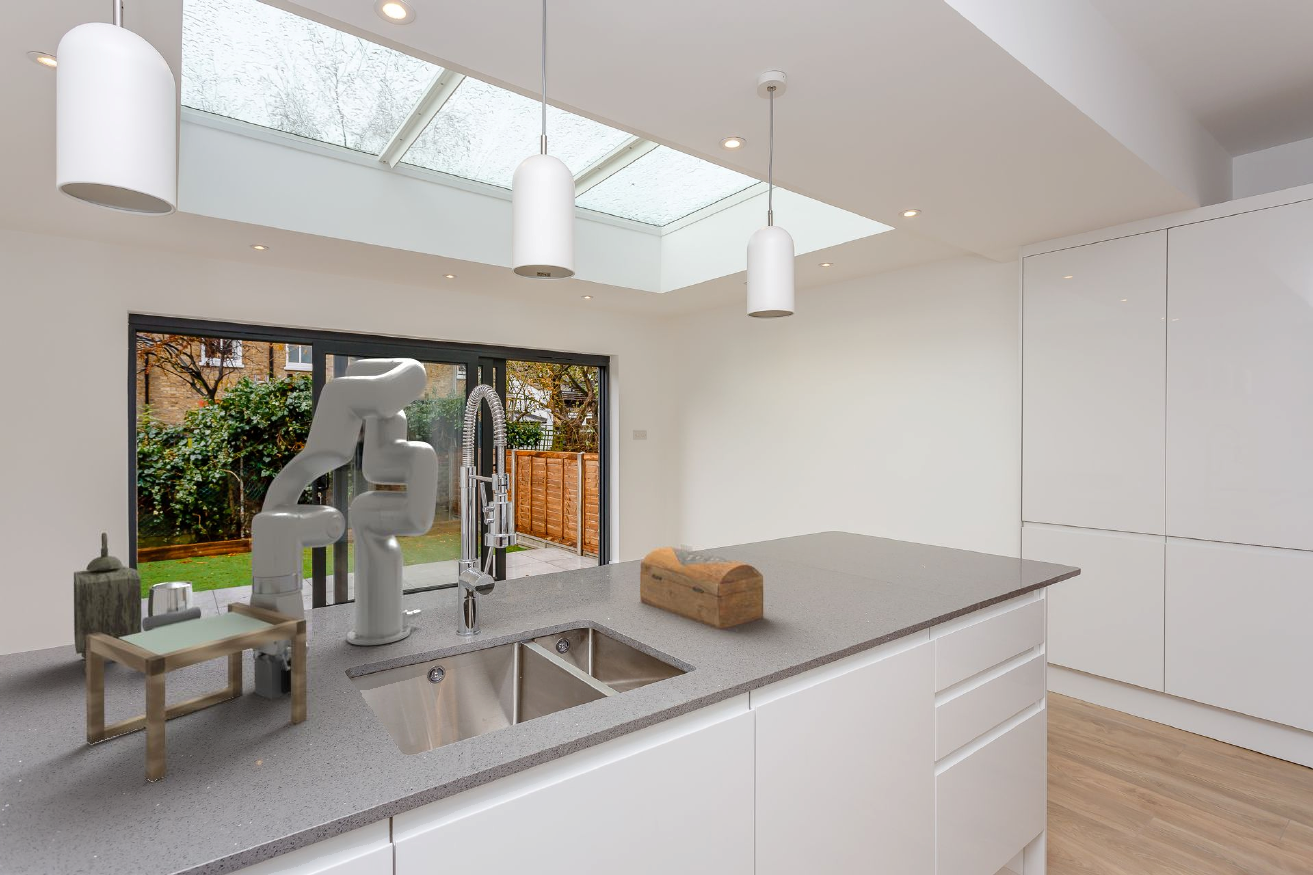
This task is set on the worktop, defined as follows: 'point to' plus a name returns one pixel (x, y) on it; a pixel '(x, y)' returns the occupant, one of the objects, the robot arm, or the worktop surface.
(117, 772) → the worktop surface
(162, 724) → the frame
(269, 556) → the robot arm
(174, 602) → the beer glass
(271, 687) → the stone
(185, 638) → the trapdoor
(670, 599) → the wooden box
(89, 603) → the tabletop clock
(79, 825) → the worktop surface
